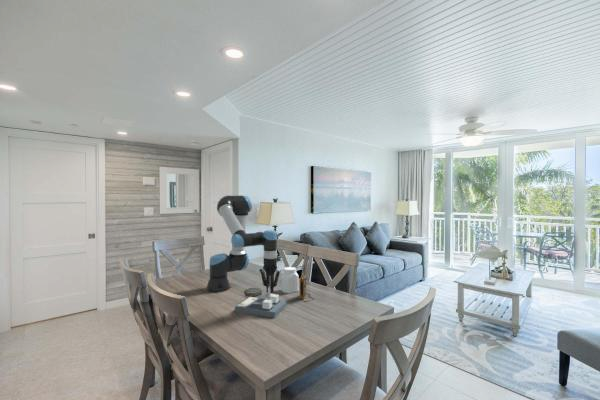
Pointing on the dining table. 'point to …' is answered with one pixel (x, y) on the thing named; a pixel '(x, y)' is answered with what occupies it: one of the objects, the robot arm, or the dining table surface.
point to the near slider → (267, 304)
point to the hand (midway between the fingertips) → (270, 298)
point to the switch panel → (259, 307)
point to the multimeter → (303, 286)
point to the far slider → (274, 298)
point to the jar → (290, 280)
